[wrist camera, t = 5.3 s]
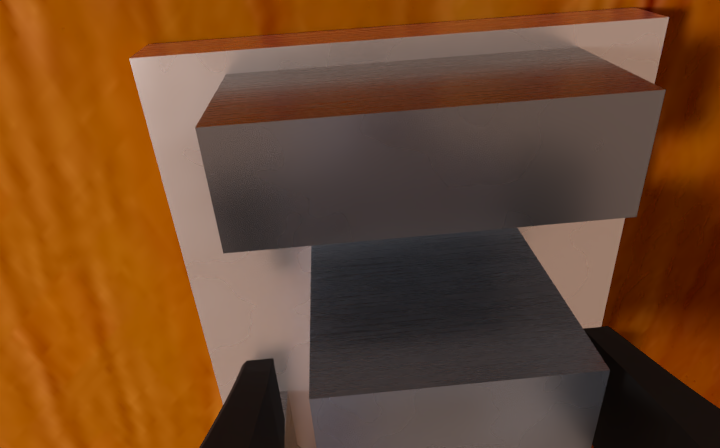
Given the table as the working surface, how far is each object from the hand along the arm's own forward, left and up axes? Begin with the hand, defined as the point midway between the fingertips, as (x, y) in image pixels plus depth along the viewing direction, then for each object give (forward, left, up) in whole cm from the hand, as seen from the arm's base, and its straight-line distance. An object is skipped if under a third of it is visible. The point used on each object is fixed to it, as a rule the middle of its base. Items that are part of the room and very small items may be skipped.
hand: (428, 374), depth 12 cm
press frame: (-3, 0, -5) cm, 6 cm away
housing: (0, 0, -3) cm, 3 cm away
